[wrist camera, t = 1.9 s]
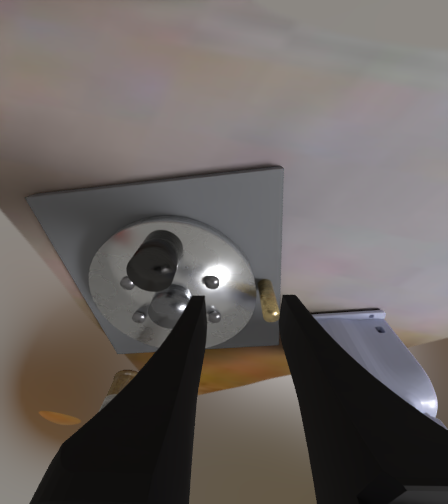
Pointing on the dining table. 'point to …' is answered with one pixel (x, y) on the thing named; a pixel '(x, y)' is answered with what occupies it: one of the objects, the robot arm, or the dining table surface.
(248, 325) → the charcoal board
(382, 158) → the dining table surface
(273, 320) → the brass dowel
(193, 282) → the flange plate
